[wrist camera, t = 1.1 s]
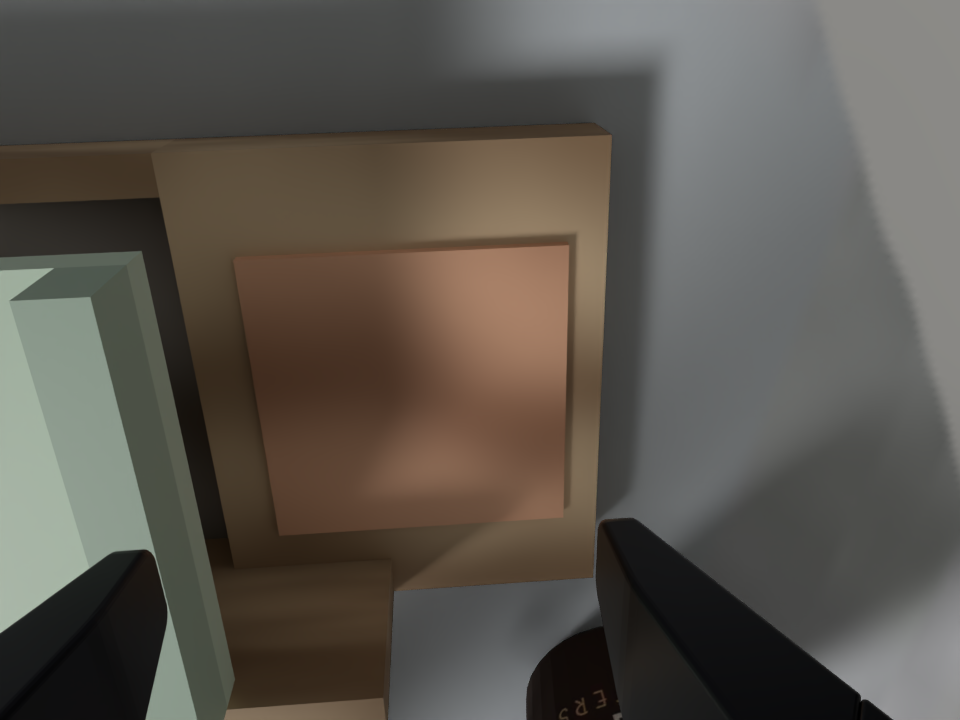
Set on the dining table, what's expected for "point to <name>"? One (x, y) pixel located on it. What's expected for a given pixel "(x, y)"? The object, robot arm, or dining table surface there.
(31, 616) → the robot arm
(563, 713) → the coffee mug
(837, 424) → the dining table surface
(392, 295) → the puzzle board
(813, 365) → the dining table surface
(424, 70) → the dining table surface
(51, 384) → the sage cover
